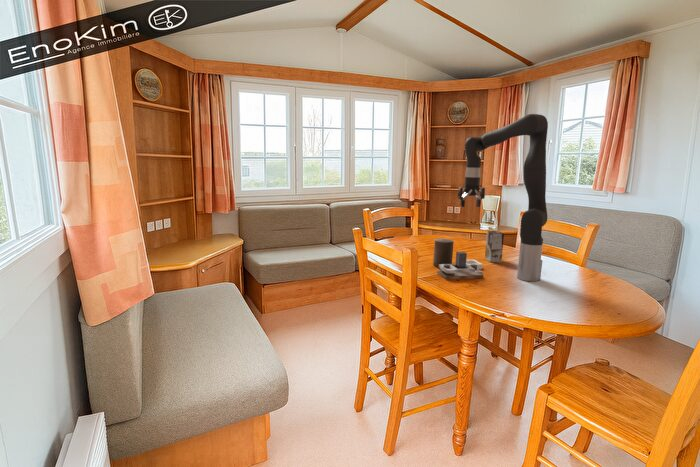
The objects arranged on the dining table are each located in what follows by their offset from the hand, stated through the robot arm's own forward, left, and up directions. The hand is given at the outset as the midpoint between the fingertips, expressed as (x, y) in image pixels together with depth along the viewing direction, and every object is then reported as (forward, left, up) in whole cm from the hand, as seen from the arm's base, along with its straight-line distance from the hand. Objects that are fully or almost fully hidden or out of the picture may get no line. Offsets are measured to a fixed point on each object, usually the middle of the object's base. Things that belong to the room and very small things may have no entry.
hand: (470, 206), depth 199 cm
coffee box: (-16, 0, -30) cm, 34 cm away
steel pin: (+15, +23, -29) cm, 40 cm away
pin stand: (+3, +10, -30) cm, 32 cm away
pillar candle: (+16, +6, -30) cm, 35 cm away
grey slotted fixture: (+15, +23, -30) cm, 41 cm away
